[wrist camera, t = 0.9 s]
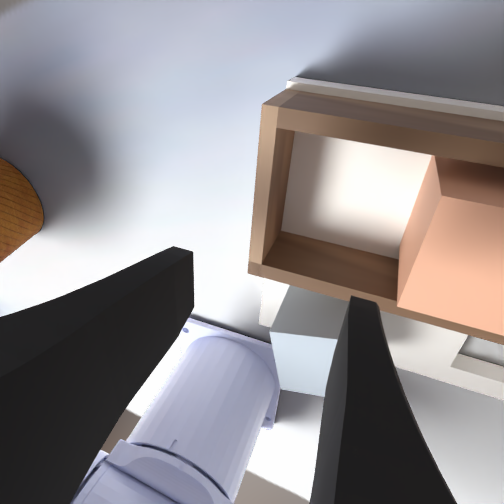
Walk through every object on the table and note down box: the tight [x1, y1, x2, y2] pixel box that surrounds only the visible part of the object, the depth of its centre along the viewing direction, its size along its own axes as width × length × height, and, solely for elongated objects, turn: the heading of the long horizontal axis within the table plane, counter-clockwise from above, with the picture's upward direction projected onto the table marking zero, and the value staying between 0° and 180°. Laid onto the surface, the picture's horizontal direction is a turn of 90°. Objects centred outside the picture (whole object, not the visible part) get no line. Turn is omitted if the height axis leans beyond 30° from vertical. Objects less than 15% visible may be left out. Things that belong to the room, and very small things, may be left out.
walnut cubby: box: [248, 89, 504, 345], centre depth 15 cm, size 7×11×3 cm
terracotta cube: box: [397, 155, 504, 336], centre depth 14 cm, size 4×4×4 cm
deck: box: [259, 77, 504, 401], centre depth 17 cm, size 14×20×1 cm
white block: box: [269, 285, 349, 397], centre depth 19 cm, size 4×4×4 cm
